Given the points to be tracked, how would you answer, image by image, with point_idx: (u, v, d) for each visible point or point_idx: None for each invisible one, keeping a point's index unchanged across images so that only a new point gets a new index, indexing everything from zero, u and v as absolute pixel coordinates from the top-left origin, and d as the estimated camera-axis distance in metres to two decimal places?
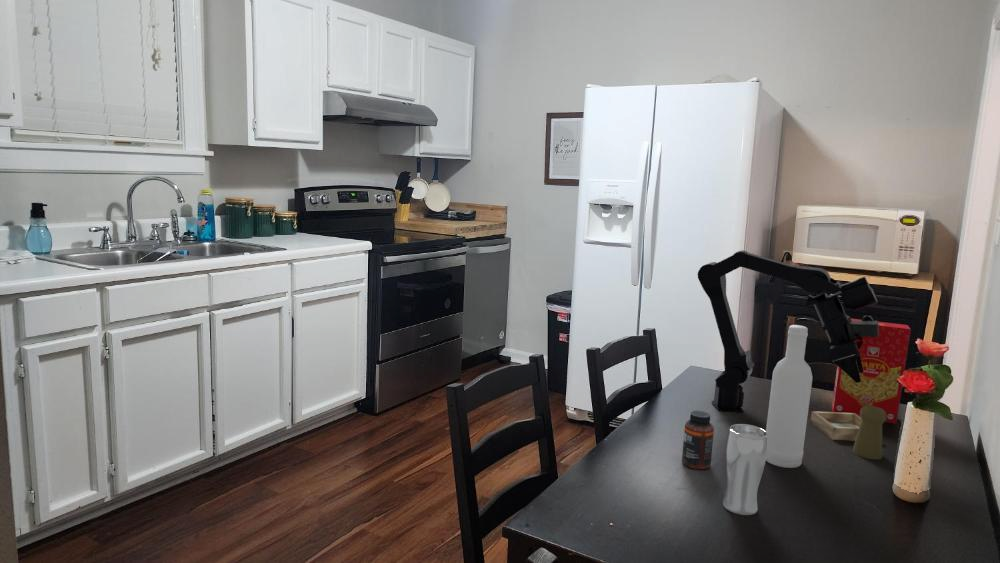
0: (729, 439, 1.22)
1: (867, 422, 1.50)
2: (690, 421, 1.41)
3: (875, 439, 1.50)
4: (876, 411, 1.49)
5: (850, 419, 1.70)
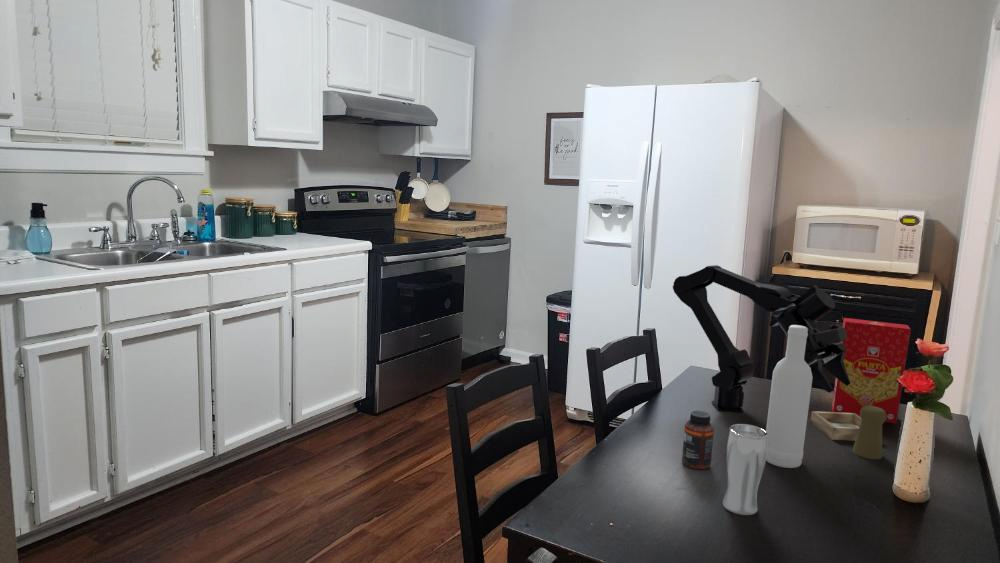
0: (729, 439, 1.22)
1: (867, 422, 1.50)
2: (690, 421, 1.41)
3: (875, 439, 1.50)
4: (876, 411, 1.49)
5: (850, 419, 1.70)
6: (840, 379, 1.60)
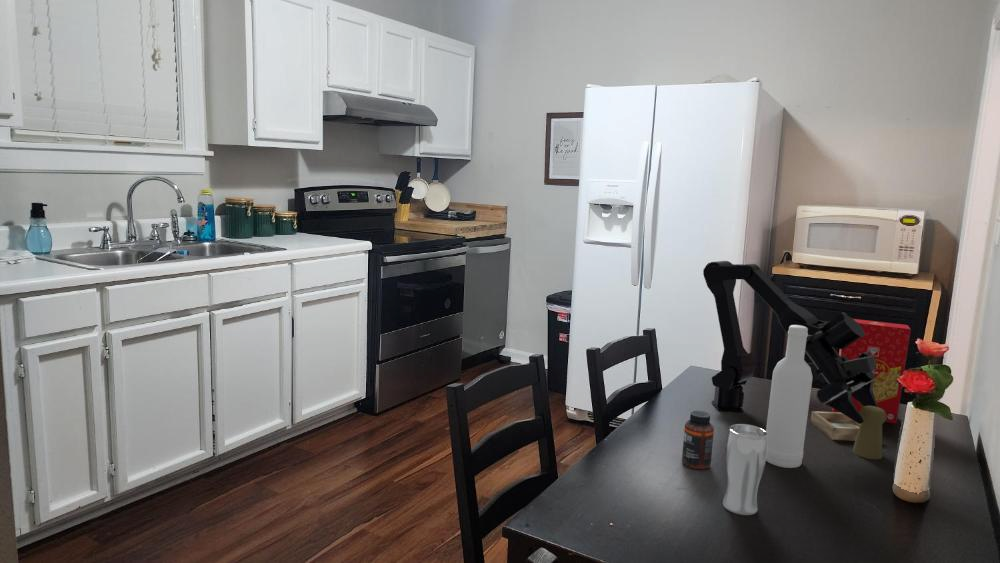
0: (729, 439, 1.22)
1: (867, 422, 1.50)
2: (690, 421, 1.41)
3: (875, 439, 1.50)
4: (876, 411, 1.49)
5: (850, 419, 1.70)
6: None
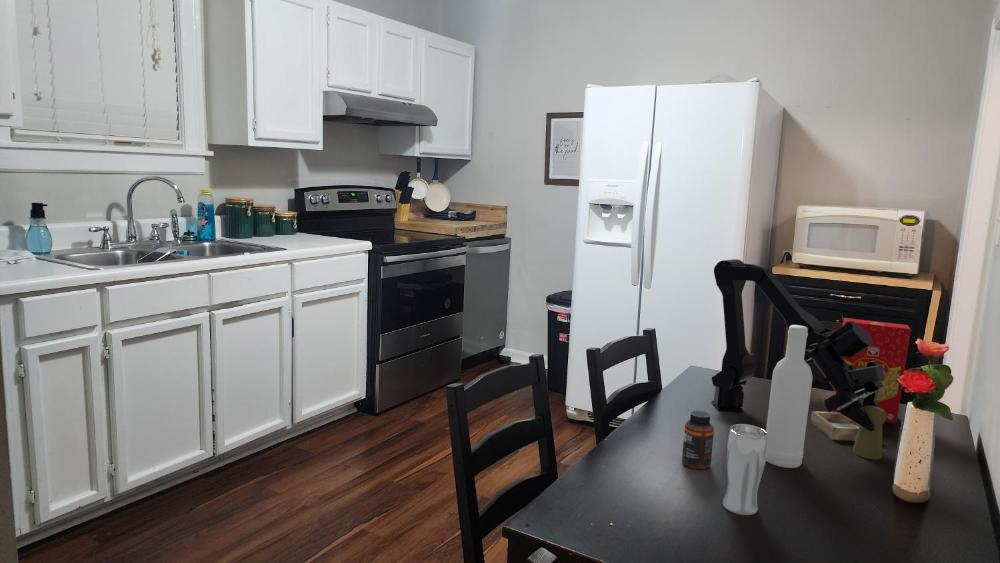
0: (729, 439, 1.22)
1: None
2: (690, 421, 1.41)
3: (875, 439, 1.50)
4: (876, 411, 1.49)
5: (850, 419, 1.70)
6: None
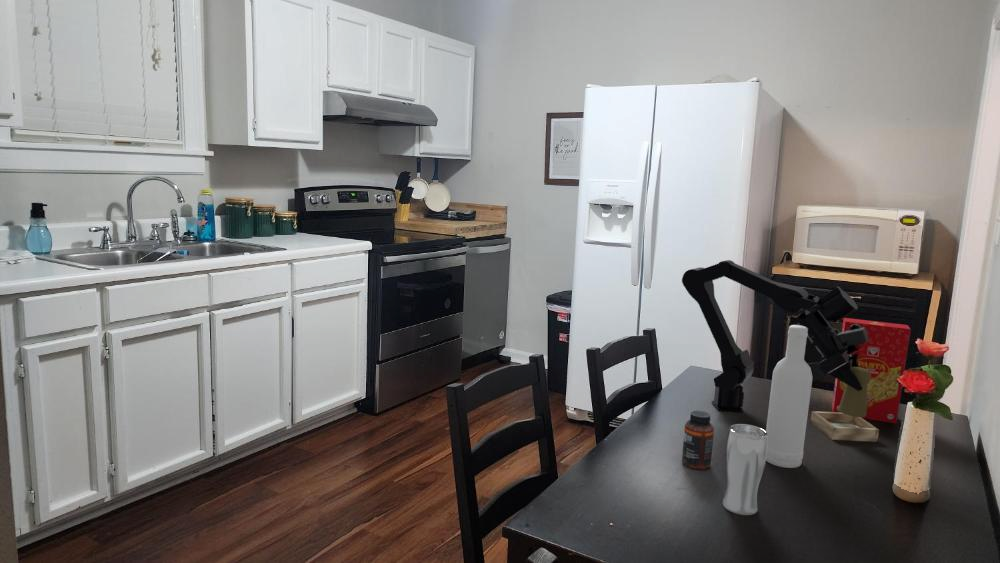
0: (729, 439, 1.22)
1: None
2: (690, 421, 1.41)
3: (862, 398, 1.57)
4: (863, 371, 1.57)
5: (850, 419, 1.70)
6: None
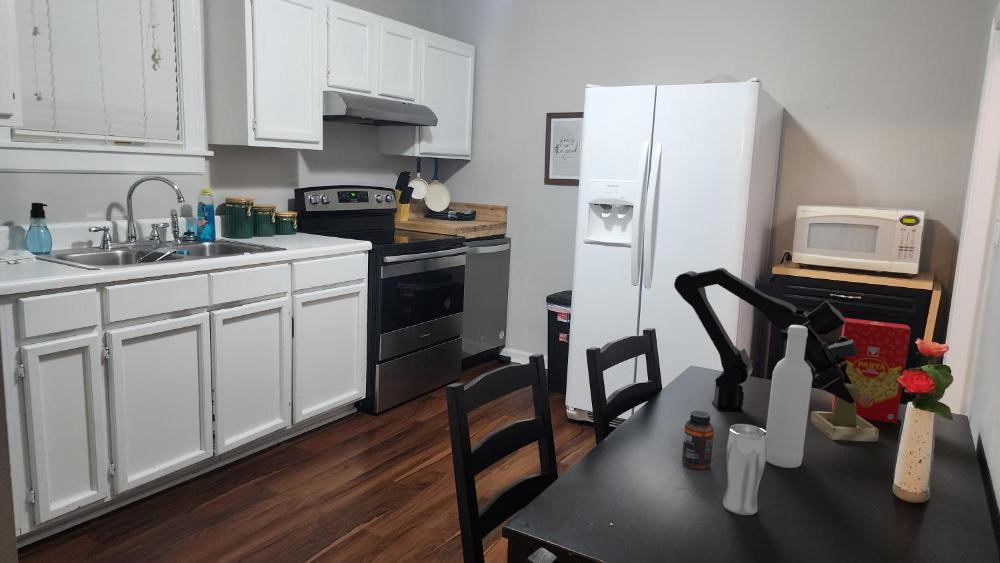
0: (729, 439, 1.22)
1: None
2: (690, 421, 1.41)
3: (853, 413, 1.62)
4: (853, 388, 1.62)
5: None
6: None
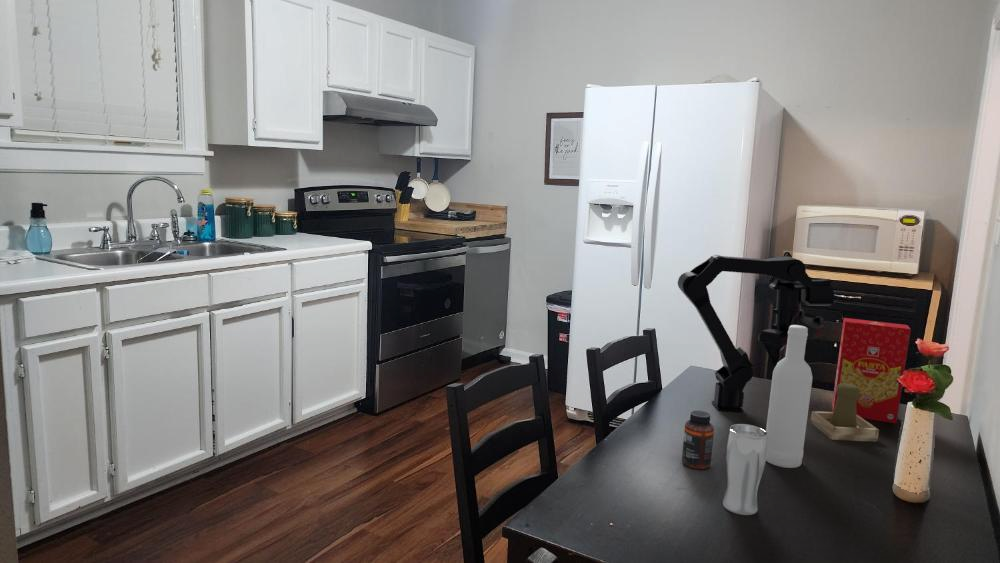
0: (729, 439, 1.22)
1: (845, 399, 1.62)
2: (690, 421, 1.41)
3: (853, 413, 1.62)
4: (853, 388, 1.62)
5: None
6: None
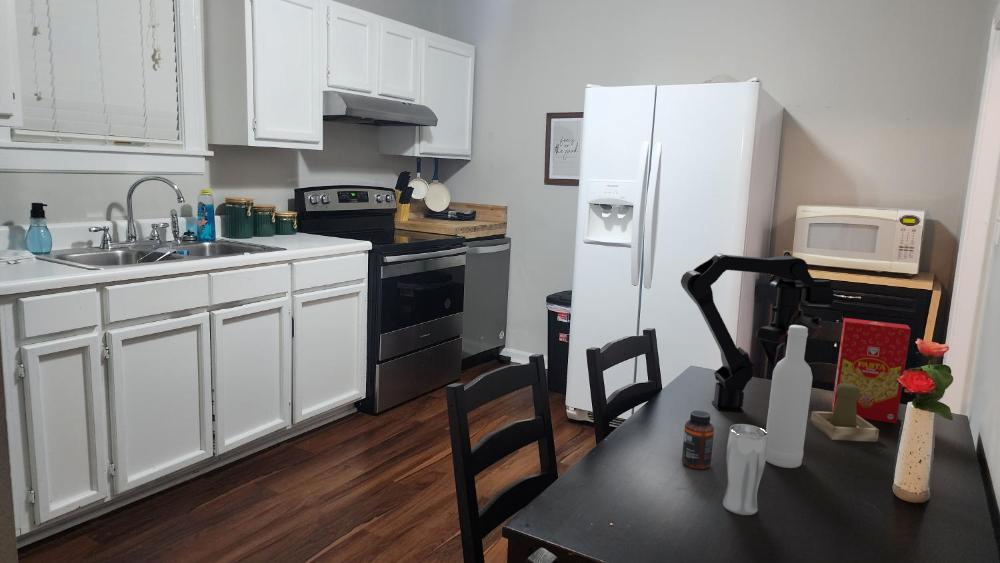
0: (729, 439, 1.22)
1: (845, 399, 1.62)
2: (690, 421, 1.41)
3: (853, 413, 1.62)
4: (853, 388, 1.62)
5: None
6: None
